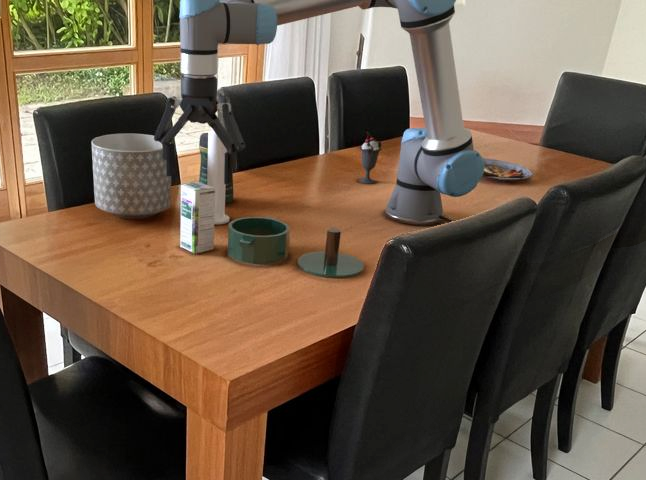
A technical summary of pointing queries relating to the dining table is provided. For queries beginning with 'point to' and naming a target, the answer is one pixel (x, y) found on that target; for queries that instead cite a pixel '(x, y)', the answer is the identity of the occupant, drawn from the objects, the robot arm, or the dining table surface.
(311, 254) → the pot lid
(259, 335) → the dining table surface
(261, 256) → the pot
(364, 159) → the sundae
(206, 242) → the syrup box
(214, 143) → the white syringe
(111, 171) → the planter
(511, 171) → the food plate
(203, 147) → the coffee jar
